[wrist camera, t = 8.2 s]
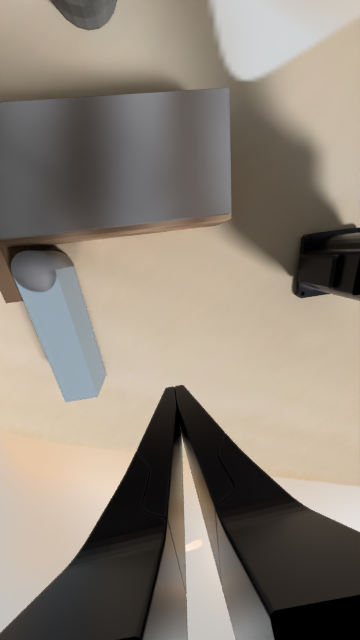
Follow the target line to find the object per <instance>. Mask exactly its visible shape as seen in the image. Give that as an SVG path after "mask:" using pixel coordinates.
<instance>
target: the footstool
mask: <svg viewBox="0 0 360 640" xmlns="http://www.w3.org/2000/svg"><path fill="white" fill-rule="evenodd" d="M231 213H232V211H231V150H230V89H229V88H217V89H202V90H186V91H170V92H154V93H138V94H122V95H107V96H91V97H75V98H59V99H43V100H27V101H12V102H0V291H1V293H2V295H3V297H4V300H5V302H6V303H11V302H18V301H23V299H22V296H21V294H20V292H19V289H18V287H17V284H16V282H15V280H14V277H13V275H12V272H11V262H12V259H13V258H14V256H15V255H16V254H18V253H20V252H22V251H31V249H30V247H37V246H46V245H54V244H63V243H71V242H80V241H88V240H97V239H105V238H114V237H122V236H131V235H139V234H148V233H157V232H165V231H174V230H182V229H191V228H199V227H208V226H216V225H218V224H220V223H223V222H225V221H227V220H230V219H231Z"/></svg>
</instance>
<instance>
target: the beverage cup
mask: <svg viewBox="0 0 360 640" xmlns="http://www.w3.org/2000/svg"><path fill="white" fill-rule="evenodd" d="M53 2H54V4H55V6H56V7H57V9H58V10H59V11H60V12H61V13H62V15H63V16H64V17H65V18H66V19H67V20H68V21H70V22H71V23H72V24H74V25H75V26H77V27H79V28H83V29H86V30H93V29H99V28H100V27H102V26H103V25H104V24H106V23H107V22H108V21H109V19H110V18H111V16H112V14H113V13H114V10H115V6H116V2H117V0H53Z"/></svg>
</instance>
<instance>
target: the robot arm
mask: <svg viewBox="0 0 360 640" xmlns="http://www.w3.org/2000/svg"><path fill="white" fill-rule="evenodd" d="M307 238H308V241H307ZM301 292H302V294H301ZM325 294H334V295H338V296H342V297H346V298H351V299H355V300H359V301H360V228H352V229H344V230H336V231H328V232H320V233H312V234H306V235H304V236H303V237H302V240H301V250H300V258H299V268H298V278H297V288H296V296H297V297H300V298H305V297H312V296H318V295H325ZM180 427H181V428H180ZM181 433H182V435H181ZM182 438H183V443H184V446H185V450H186V454H187V458H188V461H189V465H190V469H191V473H192V476H193V480H194V484H195V488H196V491H197V495H198V499H199V502H200V506H201V510H202V514H203V518H204V522H205V525H206V529H207V533H208V537H209V540H210V544H211V548H212V551H213V556H214V559H215V563H216V566H217V570H218V574H219V578H220V582H221V585H222V589H223V593H224V597H225V601H226V604H227V608H228V612H229V616H230V620H231V623H232V627H233V631H234V635H235V638H236V640H360V532H358V531H356V530H354V529H352V528H350V527H347V526H345V525H343V524H341V523H339V522H337V521H335V520H332V519H330V518H328V517H326V516H324V515H321V514H319V513H317V512H315V511H313V510H311V509H309V508H308V507H306V506H304V505H303V504H302V503H300V502H299V501H297V500H296V499H295V498H293V497H292V496H291V495H290V494H289V493H287V492H286V491H285V490H284V489H283V488H282V487H281V486H280V485H279V484H277V483H276V482H275V481H274V480H273V479H272V478H271V477H270V476H269V475H268V474H266V473H265V472H264V471H263V470H262V469H261V468H260V467H259V466H258V465H257V464H255V463H254V462H253V461H252V460H251V459H250V458H249V457H248V456H247V455H246V454H245V453H244V452H243V451H242V450H241V449H240V448H239V447H238V446H237V445H236V444H235V443H234V442H233V441H232V440H231V438H230V437H229V436H228V435H227V434H226V433H225V432H224V431H223V430H222V428H221V427H220V426H219V425H218V424H217V423H216V422H215V420H214V419H213V418H212V417H211V416H210V415H209V414H208V413H207V411H206V410H205V409H204V408H203V407H202V406H201V405H200V404H199V402H198V401H197V400H196V399H195V398H194V397H193V396H192V394H191V393H190V392H189V391H188V390H187V389H186V388H185V387H184V386H183V385H179V386H175V388H174V387H168V388H166V389H165V391H164V393H163V395H162V397H161V399H160V401H159V404H158V406H157V408H156V410H155V412H154V414H153V416H152V419H151V421H150V423H149V425H148V427H147V429H146V432H145V434H144V436H143V438H142V440H141V442H140V444H139V447H138V449H137V451H136V453H135V455H134V457H133V459H132V461H131V463H130V465H129V467H128V469H127V471H126V474H125V475H124V477H123V479H122V481H121V482H120V485H119V486H118V488H117V490H116V491H115V493H114V495H113V496H112V498H111V500H110V502H109V503H108V505H107V507H106V508H105V510H104V512H103V513H102V515H101V517H100V519H99V520H98V522H97V524H96V526H95V527H94V529H93V531H92V532H91V534H90V535H89V537H88V539H87V540H86V542H85V544H84V545H83V546H82V548H81V549H80V551H79V552H78V554H77V555H76V556H75V558H74V559H73V560H72V561H71V563H70V564H69V565H68V566H67V567H66V568H65V569H64V570H63V571H62V573H61V574H59V576H57V578H55V579H54V580H53V582H51V583H50V584H49V585H48V586H47V587H46V588H45V589H44V590H43V591H42V592H41V593H40V594H39V595H38V596H37V597H36V598H35V599H34V600H33V601H32V602H31V603H30V604H29V605H28V606H27V607H26V608H25V609H24V610H23V611H22V612H21V613H20V614H19V615H18V616H17V617H16V618H15V619H14V620H13V621H12V622H11V623H10V624H9V625H8V626H7V627H6V628H5V629H4V630H3V631H2V632H1V633H0V640H188V632H187V598H186V564H185V530H184V495H183V460H182Z"/></svg>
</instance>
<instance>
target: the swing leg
mask: <svg viewBox="0 0 360 640" xmlns="http://www.w3.org/2000/svg"><path fill="white" fill-rule="evenodd" d="M11 272H12V275H13V277H14V280H15V282H16V284H17V287H18V289H19V292H20V294H21V296H22V299H23V301H24V304H25V306H26V308H27V311H28V313H29V316H30V318H31V320H32V323H33V325H34V328H35V330H36V332H37V335H38V337H39V340H40V342H41V344H42V347H43V349H44V352H45V354H46V356H47V359H48V361H49V364H50V366H51V368H52V371H53V373H54V376H55V378H56V381H57V383H58V385H59V388H60V390H61V393H62V395H63V397H64V400H65V402H70V401H76V400H82V399H87V398H93V397H98V394H99V392H100V389H101V387H102V384H103V382H104V379H105V377H106V372H105V368H104V365H103V361H102V358H101V355H100V351H99V348H98V345H97V341H96V338H95V335H94V331H93V328H92V324H91V321H90V318H89V314H88V311H87V308H86V304H85V301H84V298H83V294H82V291H81V287H80V284H79V281H78V277H77V274H76V271H75V267H74V264H73V262H72V261H71V259H70V258H69V257H68V256H67V255H65V254H64V253H62V252H59V251H22V252H20V253H18V254H16V255H15V256H14V258H13V259H12V262H11Z"/></svg>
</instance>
